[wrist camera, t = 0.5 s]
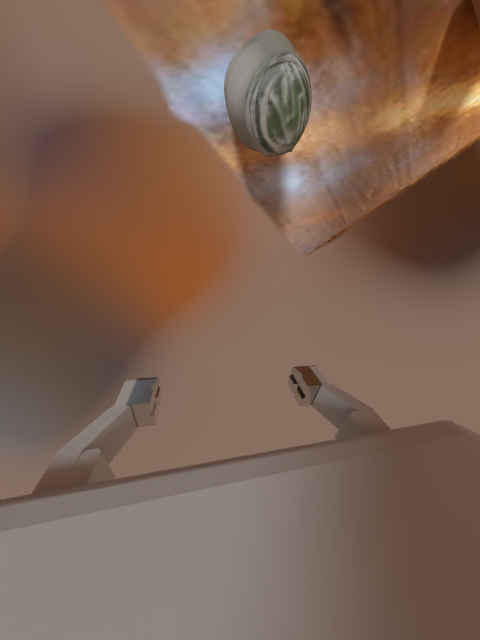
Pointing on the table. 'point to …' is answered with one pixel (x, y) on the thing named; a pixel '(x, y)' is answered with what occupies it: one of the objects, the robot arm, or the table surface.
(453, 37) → the table surface
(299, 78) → the glass bottle
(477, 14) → the shaft
